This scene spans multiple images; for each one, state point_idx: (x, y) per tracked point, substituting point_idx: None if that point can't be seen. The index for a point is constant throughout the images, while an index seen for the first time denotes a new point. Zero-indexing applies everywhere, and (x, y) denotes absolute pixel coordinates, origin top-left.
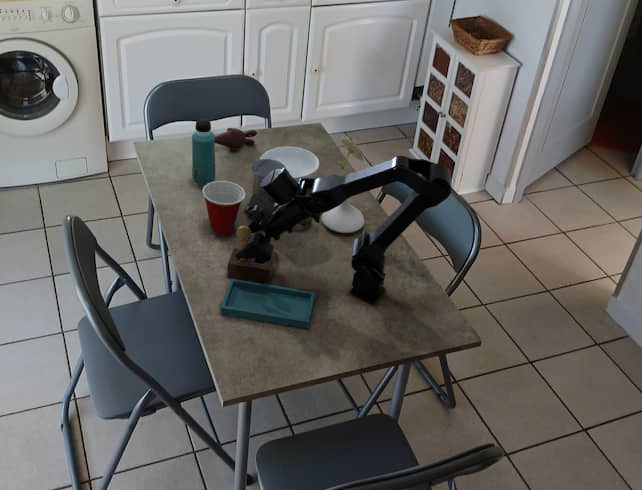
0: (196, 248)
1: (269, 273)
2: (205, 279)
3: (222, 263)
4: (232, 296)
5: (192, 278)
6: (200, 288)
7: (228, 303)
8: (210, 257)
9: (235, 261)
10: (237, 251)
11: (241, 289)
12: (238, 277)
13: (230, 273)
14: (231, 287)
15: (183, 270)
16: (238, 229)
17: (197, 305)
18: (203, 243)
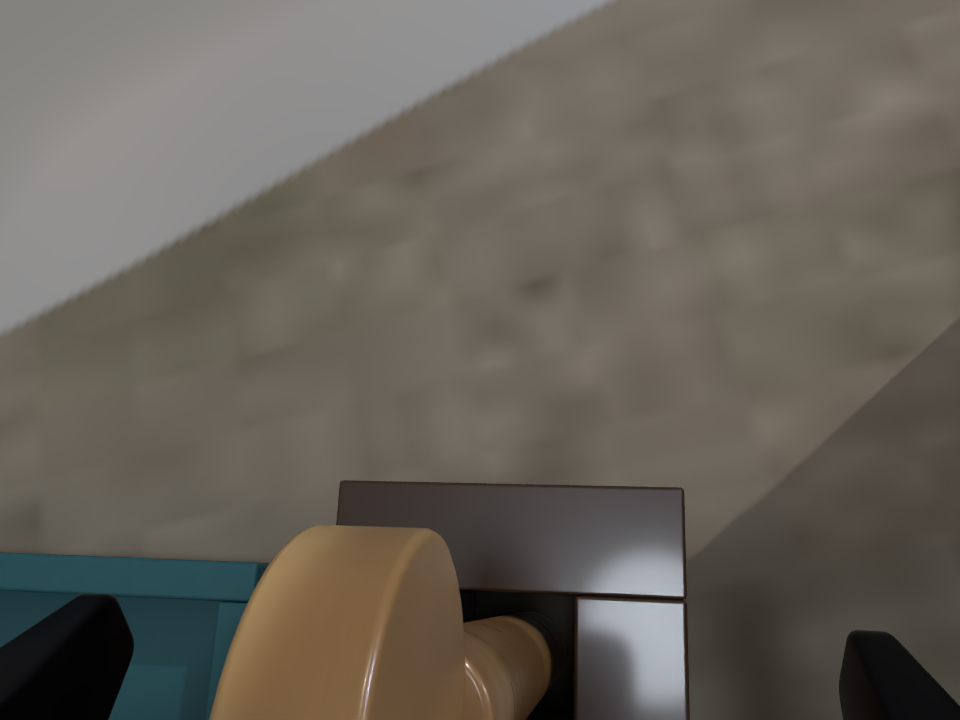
0: (779, 101)
1: None
2: (343, 306)
3: (612, 405)
4: None
5: (339, 196)
6: (220, 297)
7: (4, 598)
8: (676, 265)
9: None
10: (609, 561)
11: (205, 698)
12: None
13: None
14: (120, 595)
15: (430, 95)
16: (267, 580)
17: (18, 330)
18: (885, 139)
